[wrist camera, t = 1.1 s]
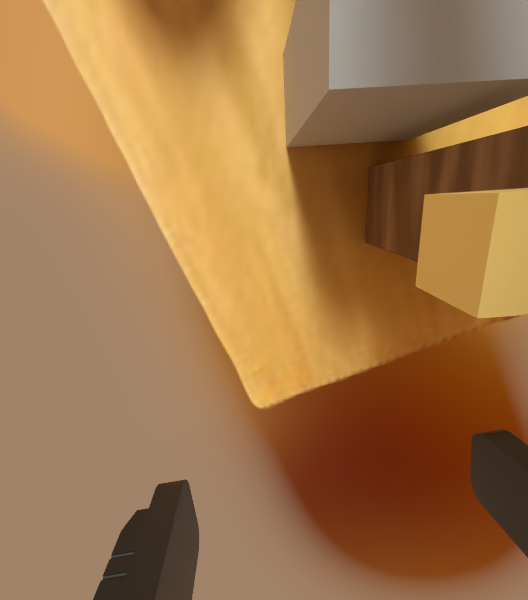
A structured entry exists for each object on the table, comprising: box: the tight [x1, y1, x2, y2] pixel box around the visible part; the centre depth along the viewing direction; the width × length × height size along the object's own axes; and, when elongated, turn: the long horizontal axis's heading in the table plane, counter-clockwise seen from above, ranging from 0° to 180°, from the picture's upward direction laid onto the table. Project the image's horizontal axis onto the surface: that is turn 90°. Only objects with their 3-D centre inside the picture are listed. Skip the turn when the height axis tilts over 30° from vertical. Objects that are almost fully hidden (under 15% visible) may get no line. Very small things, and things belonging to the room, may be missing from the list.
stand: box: [366, 126, 528, 262], centre depth 27 cm, size 16×10×32 cm, turn 94°
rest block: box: [283, 0, 528, 147], centre depth 28 cm, size 16×10×22 cm, turn 94°
